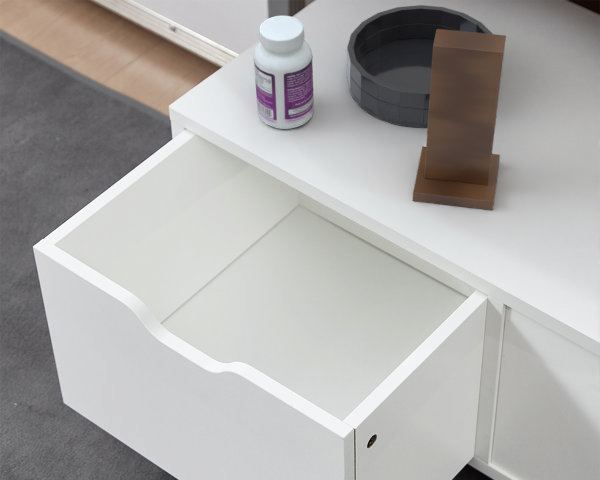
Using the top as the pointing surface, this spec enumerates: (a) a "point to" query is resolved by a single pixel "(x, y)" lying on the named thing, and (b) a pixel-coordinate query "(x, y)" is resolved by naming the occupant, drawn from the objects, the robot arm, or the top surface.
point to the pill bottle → (283, 73)
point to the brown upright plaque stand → (462, 121)
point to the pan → (399, 60)
